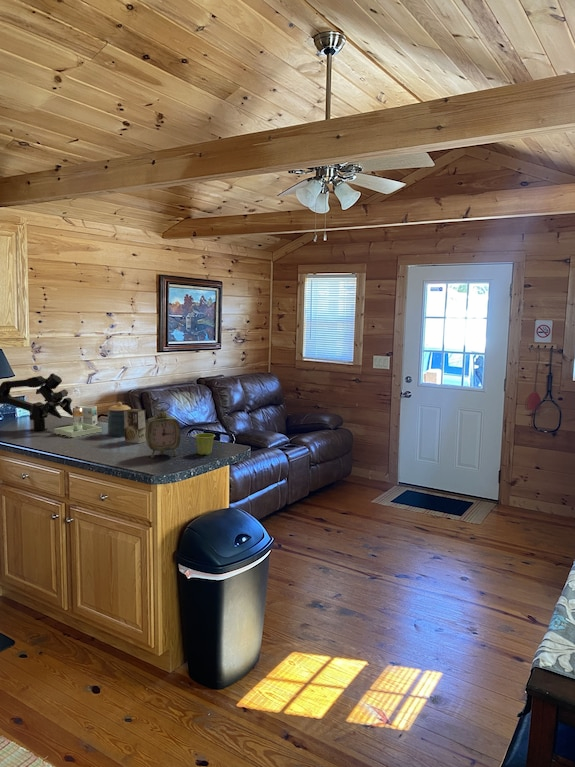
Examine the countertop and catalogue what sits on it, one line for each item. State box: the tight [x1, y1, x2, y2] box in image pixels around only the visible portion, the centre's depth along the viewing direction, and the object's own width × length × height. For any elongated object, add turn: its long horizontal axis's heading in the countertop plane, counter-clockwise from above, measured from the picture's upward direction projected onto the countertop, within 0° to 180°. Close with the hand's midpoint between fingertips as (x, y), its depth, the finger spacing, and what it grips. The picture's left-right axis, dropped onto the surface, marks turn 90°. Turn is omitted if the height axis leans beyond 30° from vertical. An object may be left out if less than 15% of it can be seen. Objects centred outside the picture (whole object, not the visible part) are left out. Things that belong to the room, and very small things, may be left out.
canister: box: [106, 401, 132, 438], centre depth 306 cm, size 13×13×18 cm
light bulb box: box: [79, 405, 98, 426], centre depth 330 cm, size 11×7×11 cm, turn 84°
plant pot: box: [194, 432, 216, 456], centre depth 269 cm, size 9×9×9 cm
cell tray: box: [54, 424, 103, 438], centre depth 309 cm, size 16×18×3 cm
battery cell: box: [72, 405, 83, 432], centre depth 309 cm, size 5×5×14 cm
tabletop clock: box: [145, 401, 181, 459], centre depth 263 cm, size 14×9×25 cm, turn 114°
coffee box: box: [124, 408, 147, 444], centre depth 291 cm, size 9×6×16 cm
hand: (66, 416), depth 310 cm, fingers open, 9 cm apart
